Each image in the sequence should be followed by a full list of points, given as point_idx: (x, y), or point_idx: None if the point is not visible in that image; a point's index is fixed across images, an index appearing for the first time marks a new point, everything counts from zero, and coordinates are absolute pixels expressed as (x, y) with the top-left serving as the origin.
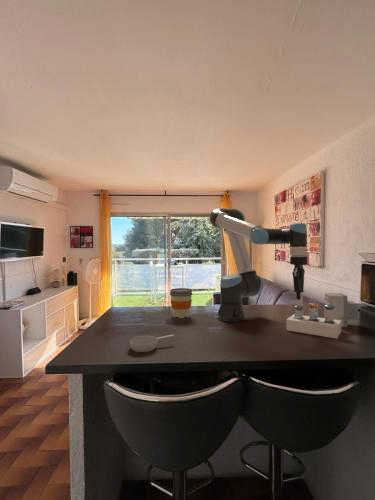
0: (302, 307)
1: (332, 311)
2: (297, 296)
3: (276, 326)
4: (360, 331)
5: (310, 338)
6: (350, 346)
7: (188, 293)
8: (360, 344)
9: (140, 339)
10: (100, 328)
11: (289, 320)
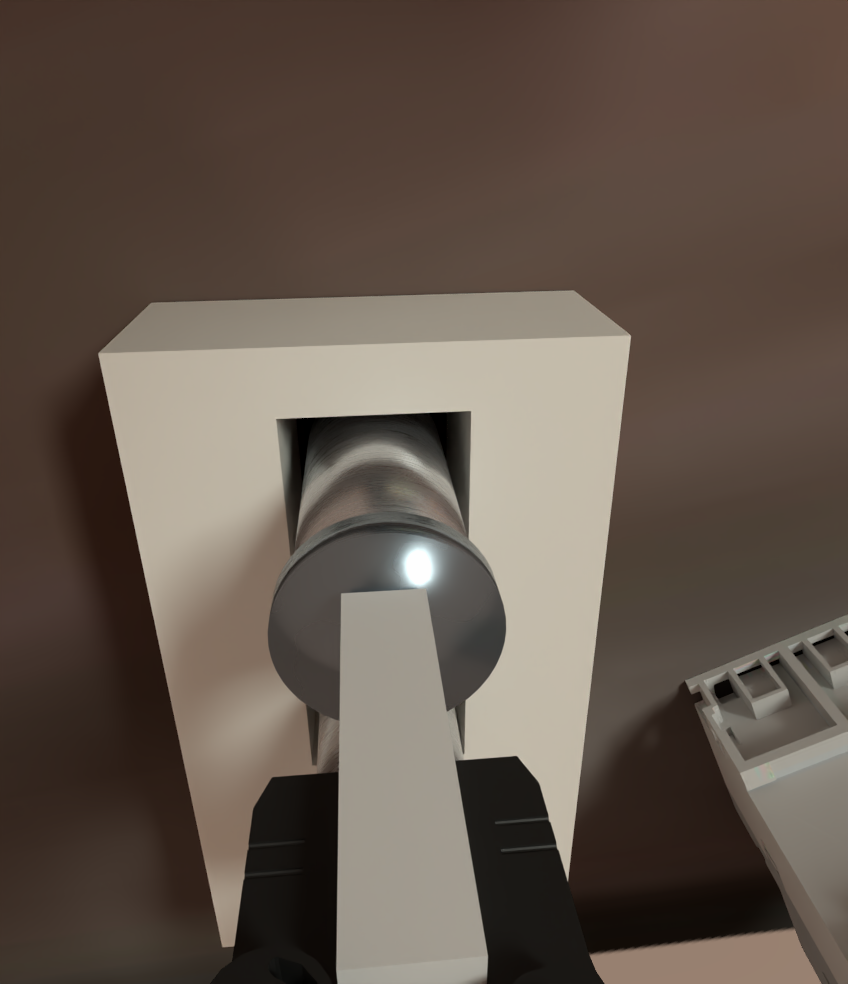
0: (334, 718)
1: None
2: (246, 896)
3: (256, 58)
4: (623, 900)
5: (33, 650)
6: (85, 927)
7: None
8: (205, 959)
9: None
10: None
11: (112, 407)
